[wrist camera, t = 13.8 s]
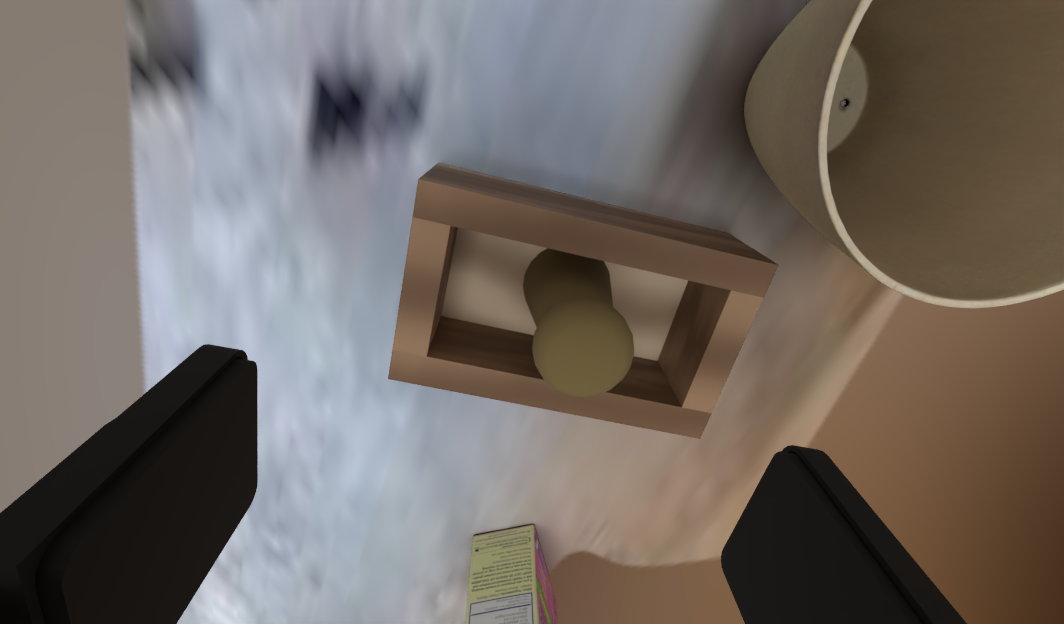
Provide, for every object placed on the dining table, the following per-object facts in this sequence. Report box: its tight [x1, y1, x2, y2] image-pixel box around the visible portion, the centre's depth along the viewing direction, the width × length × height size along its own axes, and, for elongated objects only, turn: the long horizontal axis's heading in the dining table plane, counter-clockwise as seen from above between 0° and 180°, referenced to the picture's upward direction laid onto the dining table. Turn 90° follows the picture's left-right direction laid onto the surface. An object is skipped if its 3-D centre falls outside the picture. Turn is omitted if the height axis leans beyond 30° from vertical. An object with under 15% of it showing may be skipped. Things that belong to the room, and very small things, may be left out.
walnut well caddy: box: [388, 163, 778, 439], centre depth 32 cm, size 12×20×7 cm, turn 76°
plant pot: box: [744, 0, 1064, 308], centre depth 24 cm, size 15×15×16 cm
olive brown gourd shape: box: [523, 248, 634, 398], centre depth 29 cm, size 6×6×11 cm
